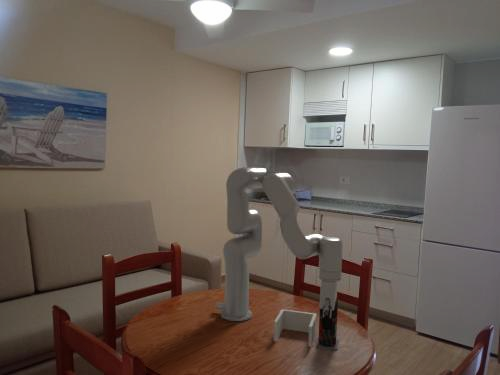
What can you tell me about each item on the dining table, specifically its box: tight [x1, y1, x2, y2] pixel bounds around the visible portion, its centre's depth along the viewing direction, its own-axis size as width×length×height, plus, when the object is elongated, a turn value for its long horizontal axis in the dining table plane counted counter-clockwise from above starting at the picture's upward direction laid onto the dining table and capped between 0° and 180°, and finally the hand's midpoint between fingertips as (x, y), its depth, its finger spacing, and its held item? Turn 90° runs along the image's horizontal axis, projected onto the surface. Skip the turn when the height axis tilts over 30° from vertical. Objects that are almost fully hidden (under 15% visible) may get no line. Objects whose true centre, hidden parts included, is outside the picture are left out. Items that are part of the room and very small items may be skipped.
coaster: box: [315, 337, 340, 351], centre depth 134 cm, size 7×7×1 cm
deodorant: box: [317, 298, 339, 347], centre depth 133 cm, size 6×6×15 cm
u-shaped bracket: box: [273, 308, 317, 348], centre depth 139 cm, size 13×12×7 cm
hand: (328, 323), depth 133 cm, fingers open, 9 cm apart
